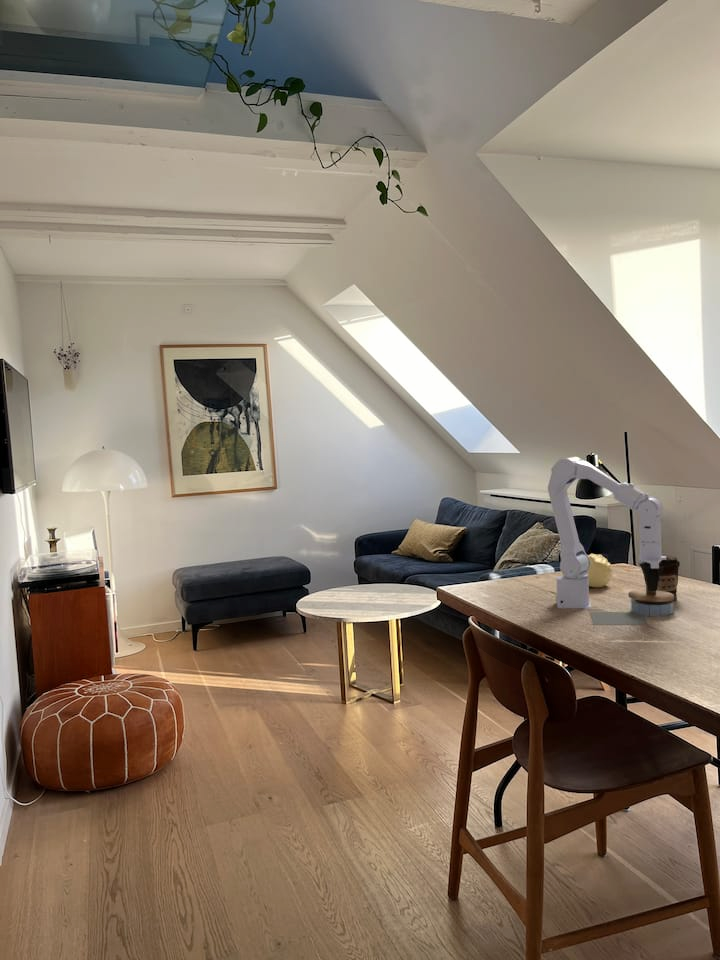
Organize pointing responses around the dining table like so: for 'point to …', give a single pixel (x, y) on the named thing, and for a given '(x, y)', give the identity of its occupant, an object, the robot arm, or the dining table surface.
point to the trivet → (617, 618)
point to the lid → (651, 595)
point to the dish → (652, 608)
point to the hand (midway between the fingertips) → (651, 589)
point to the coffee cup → (669, 576)
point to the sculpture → (598, 571)
